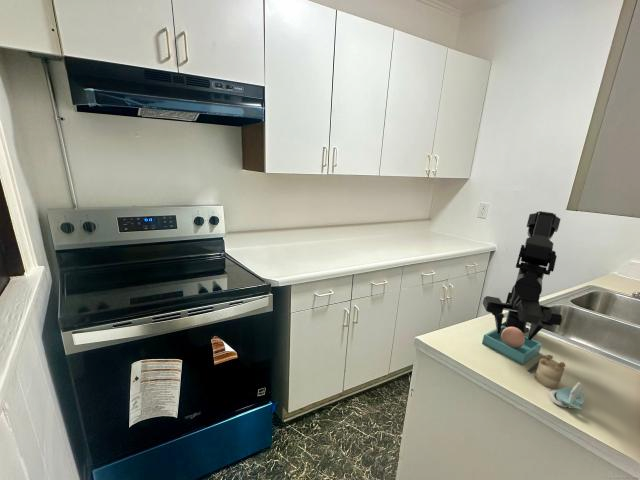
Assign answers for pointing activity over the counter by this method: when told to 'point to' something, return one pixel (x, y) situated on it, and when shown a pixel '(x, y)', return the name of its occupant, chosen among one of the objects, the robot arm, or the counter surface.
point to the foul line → (535, 367)
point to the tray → (516, 354)
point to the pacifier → (569, 396)
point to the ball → (513, 337)
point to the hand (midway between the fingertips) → (513, 336)
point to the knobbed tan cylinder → (549, 372)
